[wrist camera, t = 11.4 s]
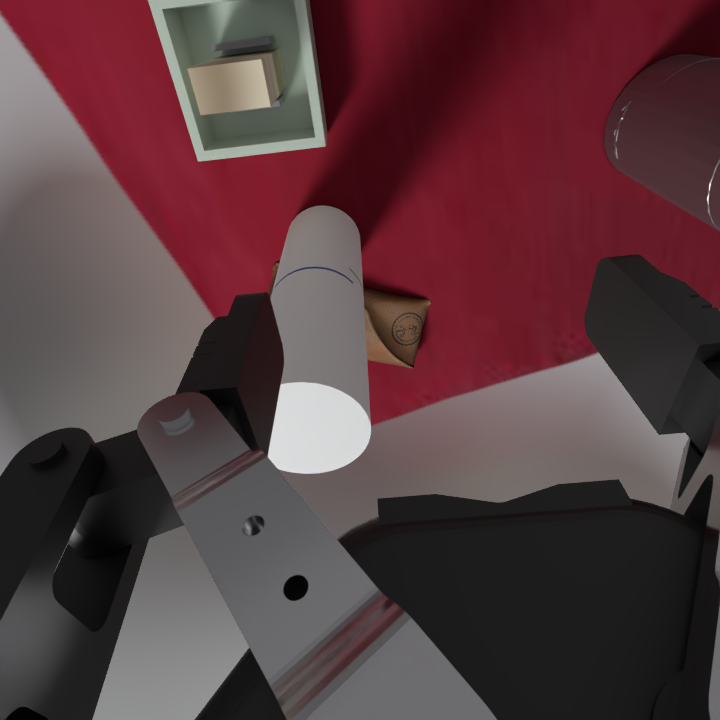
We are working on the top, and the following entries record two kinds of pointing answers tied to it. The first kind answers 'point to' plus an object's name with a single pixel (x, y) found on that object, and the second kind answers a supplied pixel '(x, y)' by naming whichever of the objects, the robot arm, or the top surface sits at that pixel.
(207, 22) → the open box
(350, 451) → the cylindrical container
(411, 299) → the sunglasses case
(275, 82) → the beige wooden block
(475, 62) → the top surface
